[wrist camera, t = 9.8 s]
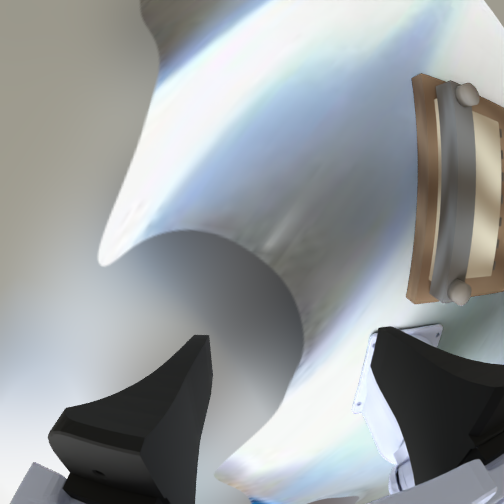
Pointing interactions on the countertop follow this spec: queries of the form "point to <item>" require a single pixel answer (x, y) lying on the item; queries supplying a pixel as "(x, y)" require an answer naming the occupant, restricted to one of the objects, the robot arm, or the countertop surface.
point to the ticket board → (430, 195)
